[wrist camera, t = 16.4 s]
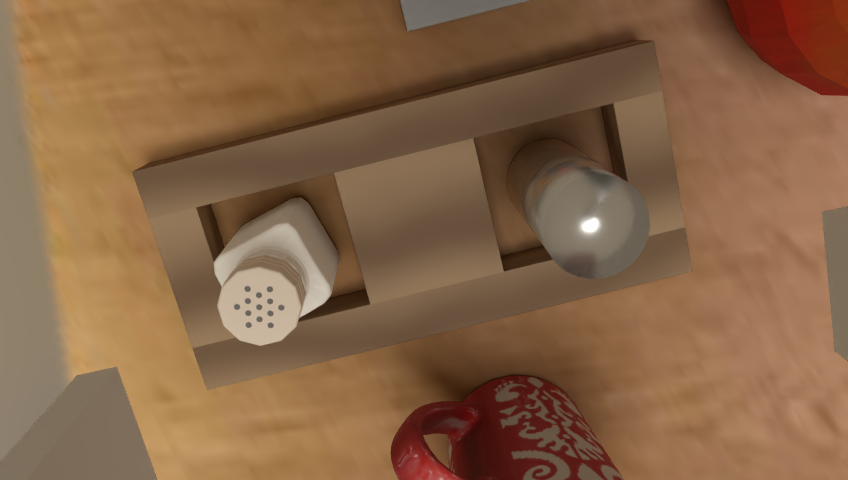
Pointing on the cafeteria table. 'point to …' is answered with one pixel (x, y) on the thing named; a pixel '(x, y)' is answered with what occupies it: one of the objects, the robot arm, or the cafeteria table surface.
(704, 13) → the cafeteria table surface
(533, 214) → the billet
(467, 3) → the button housing
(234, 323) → the pepper shaker
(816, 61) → the apple
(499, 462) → the mug
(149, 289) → the cafeteria table surface
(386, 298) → the board
